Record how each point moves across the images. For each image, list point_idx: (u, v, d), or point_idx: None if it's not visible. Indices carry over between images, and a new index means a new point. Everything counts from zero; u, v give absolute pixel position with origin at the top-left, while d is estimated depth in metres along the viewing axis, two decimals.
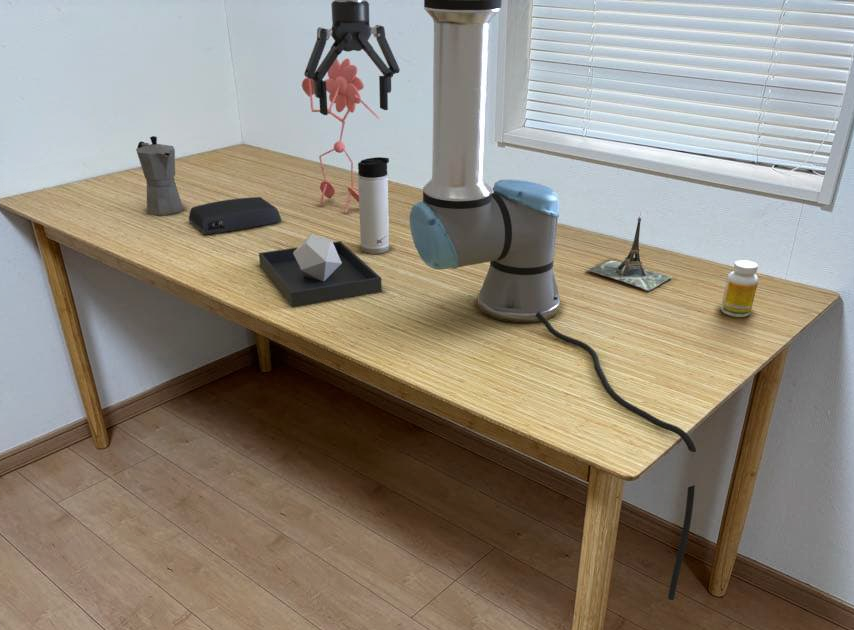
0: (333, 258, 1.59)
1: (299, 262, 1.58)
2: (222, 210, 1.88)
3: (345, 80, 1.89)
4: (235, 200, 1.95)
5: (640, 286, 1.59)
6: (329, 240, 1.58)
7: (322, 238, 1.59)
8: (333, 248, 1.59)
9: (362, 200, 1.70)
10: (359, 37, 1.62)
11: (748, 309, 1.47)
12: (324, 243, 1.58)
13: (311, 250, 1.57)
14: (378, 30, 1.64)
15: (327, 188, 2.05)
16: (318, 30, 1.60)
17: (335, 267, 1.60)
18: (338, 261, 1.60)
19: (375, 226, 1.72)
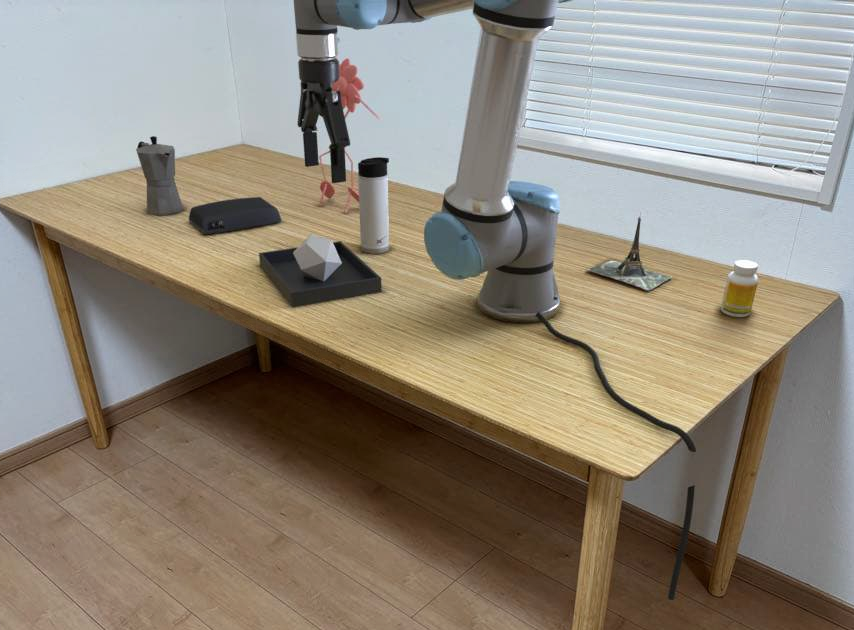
0: (333, 258, 1.59)
1: (299, 262, 1.58)
2: (222, 210, 1.88)
3: (345, 80, 1.89)
4: (235, 200, 1.95)
5: (640, 286, 1.59)
6: (329, 240, 1.58)
7: (322, 238, 1.59)
8: (333, 248, 1.59)
9: (362, 200, 1.70)
10: (313, 97, 1.50)
11: (748, 309, 1.47)
12: (324, 243, 1.58)
13: (311, 250, 1.57)
14: None
15: (327, 188, 2.05)
16: None
17: (335, 267, 1.60)
18: (338, 261, 1.60)
19: (375, 226, 1.72)
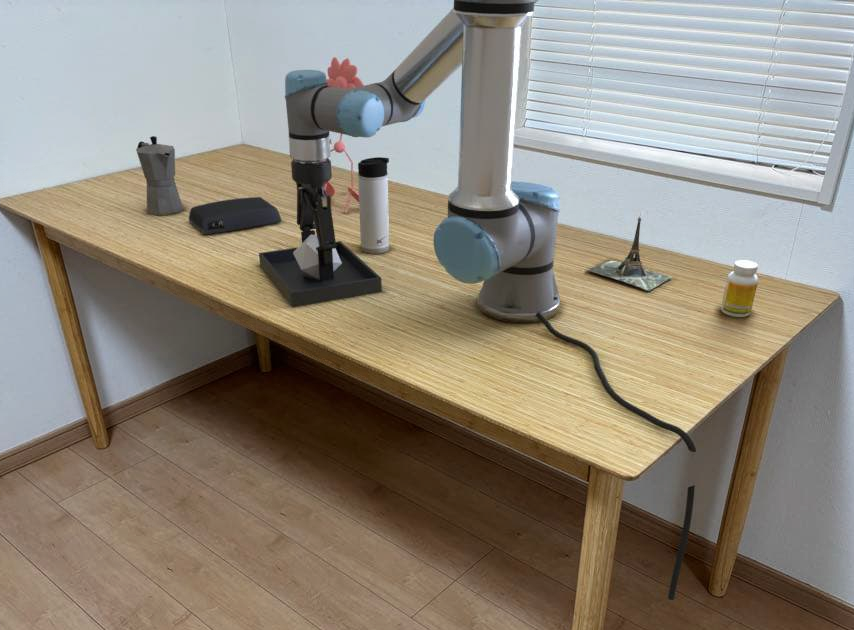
0: (333, 258, 1.59)
1: (299, 262, 1.58)
2: (222, 210, 1.88)
3: (345, 80, 1.89)
4: (235, 200, 1.95)
5: (640, 286, 1.59)
6: None
7: None
8: None
9: (362, 200, 1.70)
10: (305, 196, 1.53)
11: (748, 309, 1.47)
12: None
13: (311, 250, 1.57)
14: None
15: (327, 188, 2.05)
16: None
17: (335, 267, 1.60)
18: (338, 261, 1.60)
19: (375, 226, 1.72)
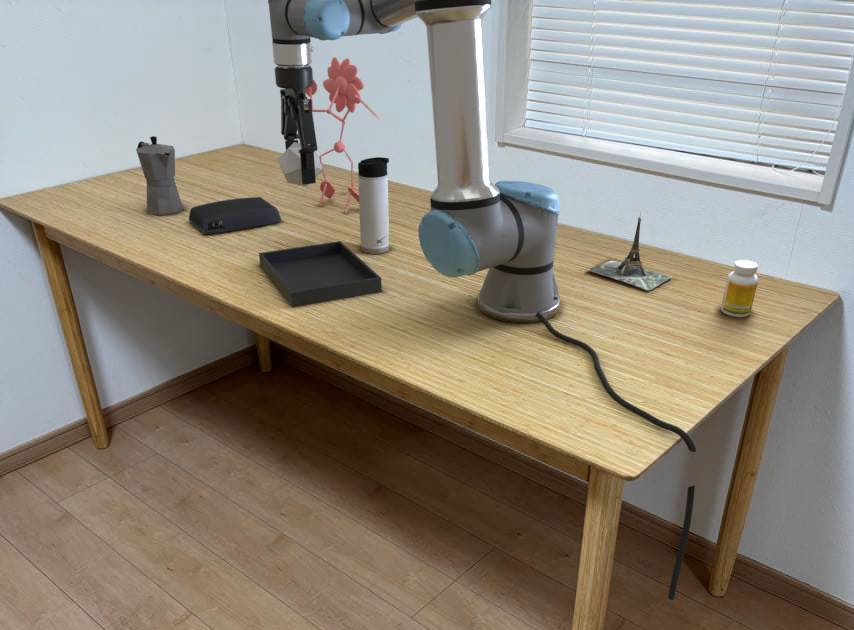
0: (315, 163, 1.68)
1: (283, 167, 1.68)
2: (222, 210, 1.88)
3: (345, 80, 1.89)
4: (235, 200, 1.95)
5: (640, 286, 1.59)
6: None
7: None
8: (315, 154, 1.68)
9: (362, 200, 1.70)
10: (288, 102, 1.62)
11: (748, 309, 1.47)
12: None
13: (294, 155, 1.66)
14: None
15: (327, 188, 2.05)
16: None
17: (317, 173, 1.70)
18: (320, 167, 1.70)
19: (375, 226, 1.72)
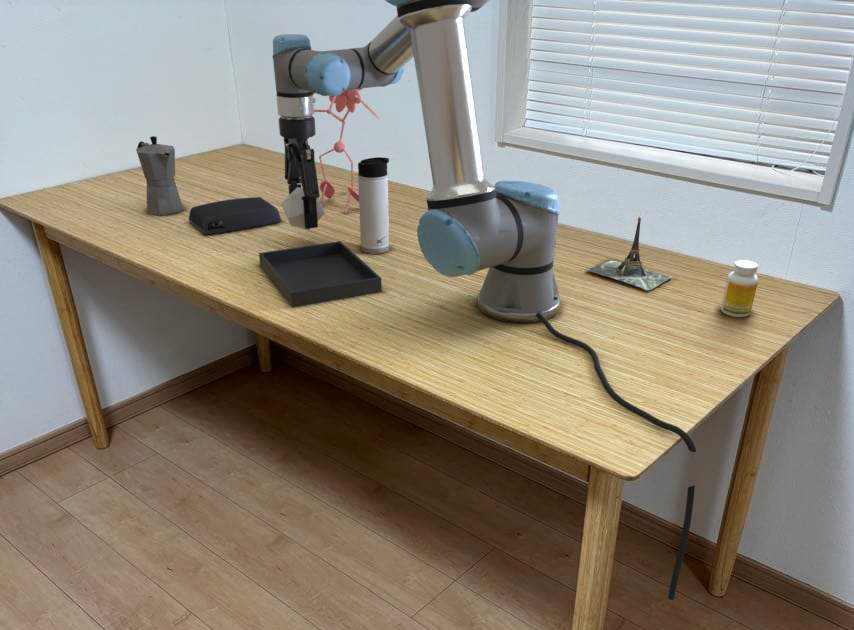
0: (317, 208, 1.75)
1: (286, 212, 1.74)
2: (222, 210, 1.88)
3: None
4: (235, 200, 1.95)
5: (640, 286, 1.59)
6: None
7: None
8: (317, 199, 1.75)
9: (362, 200, 1.70)
10: (291, 150, 1.68)
11: (748, 309, 1.47)
12: None
13: (297, 201, 1.72)
14: None
15: (327, 188, 2.05)
16: None
17: (319, 217, 1.76)
18: (322, 212, 1.76)
19: (375, 226, 1.72)
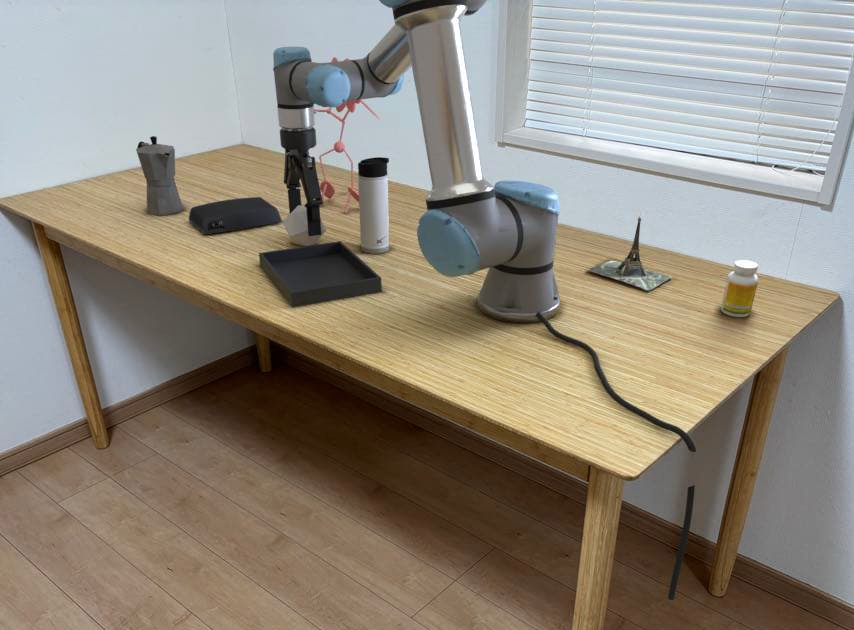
0: None
1: (288, 230, 1.76)
2: (222, 210, 1.88)
3: None
4: (235, 200, 1.95)
5: (640, 286, 1.59)
6: None
7: None
8: None
9: (362, 200, 1.70)
10: (292, 161, 1.69)
11: (748, 309, 1.47)
12: None
13: (299, 219, 1.74)
14: None
15: (327, 188, 2.05)
16: None
17: None
18: (323, 229, 1.78)
19: (375, 226, 1.72)
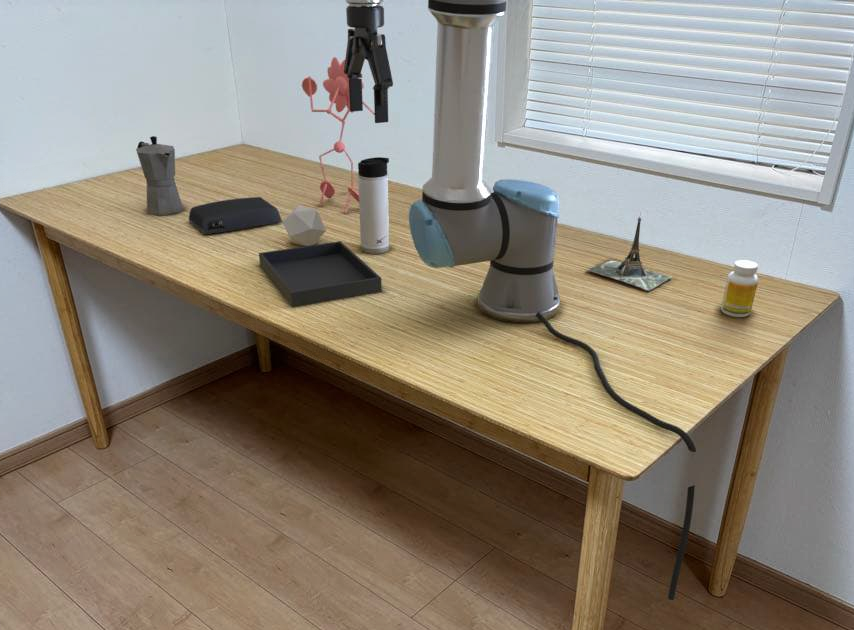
0: (318, 226, 1.77)
1: (288, 230, 1.76)
2: (222, 210, 1.88)
3: (345, 80, 1.89)
4: (235, 200, 1.95)
5: (640, 286, 1.59)
6: (315, 210, 1.76)
7: (308, 208, 1.77)
8: (318, 217, 1.77)
9: (362, 200, 1.70)
10: (359, 42, 1.61)
11: (748, 309, 1.47)
12: (310, 213, 1.76)
13: (299, 219, 1.74)
14: None
15: (327, 188, 2.05)
16: None
17: (320, 234, 1.78)
18: (323, 229, 1.78)
19: (375, 226, 1.72)
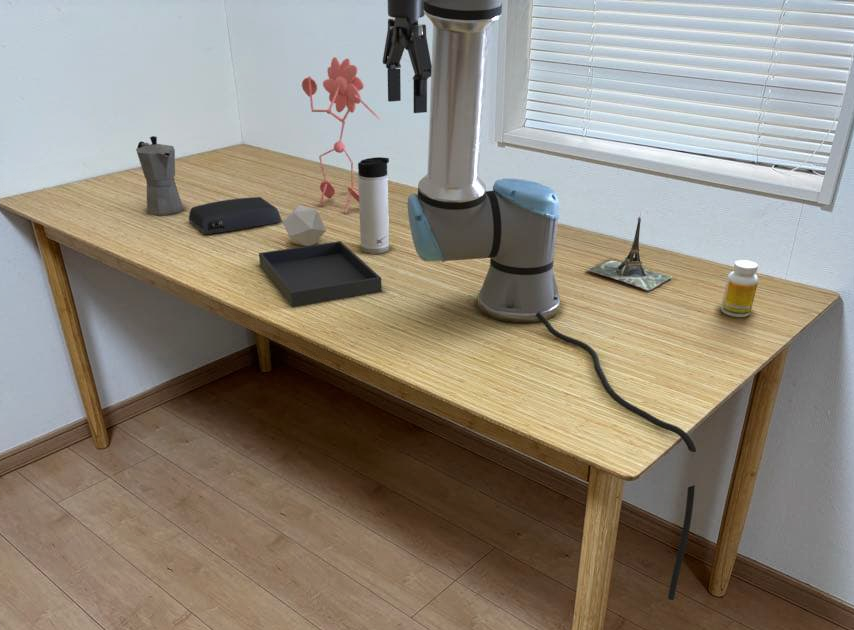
0: (318, 226, 1.77)
1: (288, 230, 1.76)
2: (222, 210, 1.88)
3: (345, 80, 1.89)
4: (235, 200, 1.95)
5: (640, 286, 1.59)
6: (315, 210, 1.76)
7: (308, 208, 1.77)
8: (318, 217, 1.77)
9: (362, 200, 1.70)
10: (399, 32, 1.61)
11: (748, 309, 1.47)
12: (310, 212, 1.76)
13: (299, 219, 1.74)
14: None
15: (327, 188, 2.05)
16: None
17: (320, 234, 1.78)
18: (323, 229, 1.78)
19: (375, 226, 1.72)
